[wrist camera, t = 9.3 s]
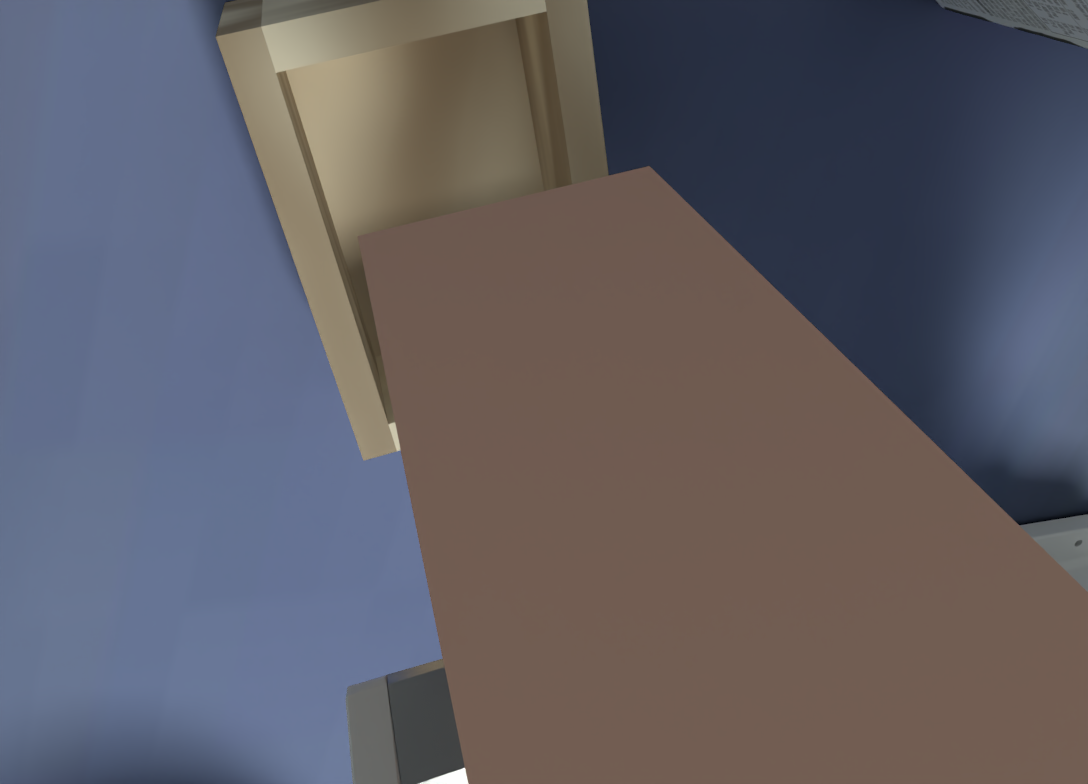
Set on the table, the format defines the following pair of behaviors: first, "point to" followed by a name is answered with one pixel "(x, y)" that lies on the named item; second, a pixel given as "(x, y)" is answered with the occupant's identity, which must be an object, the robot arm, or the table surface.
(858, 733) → the peach block
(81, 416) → the table surface
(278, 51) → the slot holder
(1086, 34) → the candy bar box
